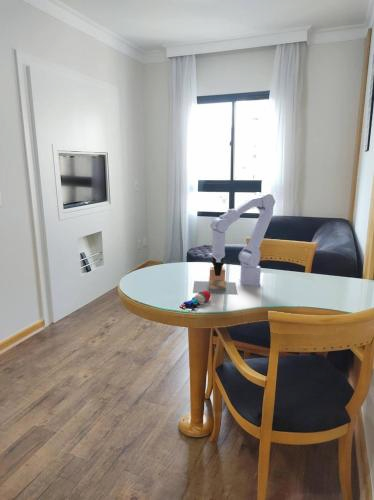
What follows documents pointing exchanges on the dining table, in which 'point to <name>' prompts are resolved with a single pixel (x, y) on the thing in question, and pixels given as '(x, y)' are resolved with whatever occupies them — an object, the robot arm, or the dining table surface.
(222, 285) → the oak brick
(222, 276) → the terracotta brick
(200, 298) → the toy figure
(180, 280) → the dining table surface
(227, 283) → the build plate
